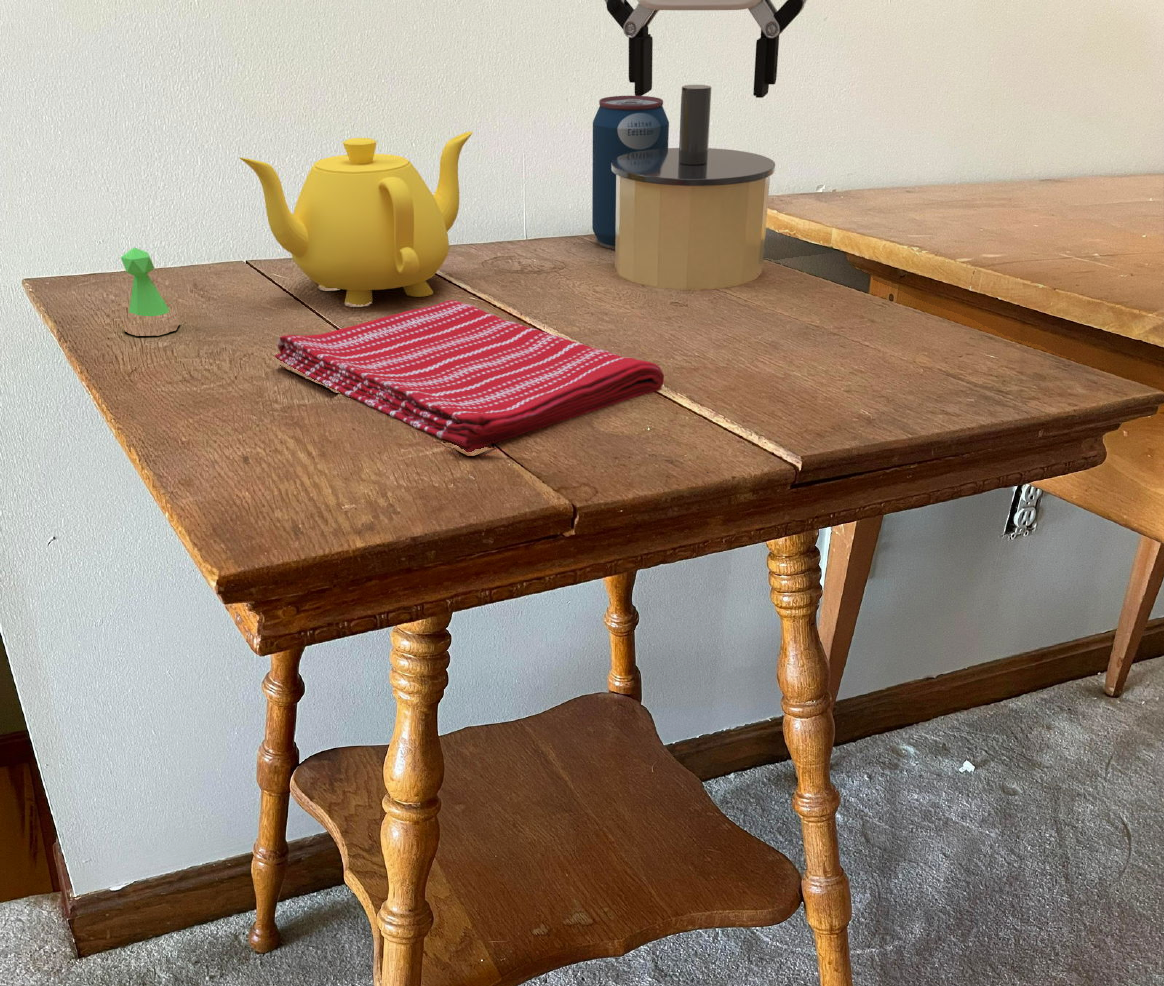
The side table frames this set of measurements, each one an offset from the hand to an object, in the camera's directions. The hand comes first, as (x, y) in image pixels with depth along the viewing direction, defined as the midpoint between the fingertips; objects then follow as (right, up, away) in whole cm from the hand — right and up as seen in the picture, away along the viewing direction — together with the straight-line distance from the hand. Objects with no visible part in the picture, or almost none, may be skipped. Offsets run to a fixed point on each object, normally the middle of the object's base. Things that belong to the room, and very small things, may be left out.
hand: (701, 94), depth 96 cm
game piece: (-43, -20, -3) cm, 48 cm away
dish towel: (-18, -28, -13) cm, 35 cm away
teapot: (-27, -14, +5) cm, 31 cm away
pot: (0, -11, +9) cm, 14 cm away
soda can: (-5, -4, +18) cm, 19 cm away
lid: (0, -4, +3) cm, 6 cm away
